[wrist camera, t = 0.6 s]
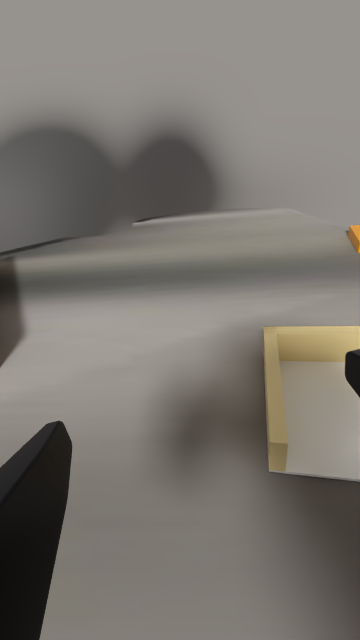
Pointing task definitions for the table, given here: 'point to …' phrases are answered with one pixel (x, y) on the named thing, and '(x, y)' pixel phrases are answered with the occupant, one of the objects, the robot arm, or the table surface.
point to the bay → (311, 402)
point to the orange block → (355, 236)
